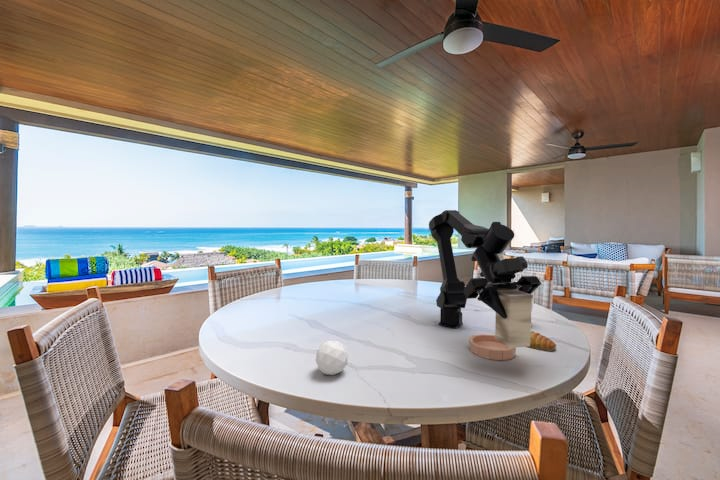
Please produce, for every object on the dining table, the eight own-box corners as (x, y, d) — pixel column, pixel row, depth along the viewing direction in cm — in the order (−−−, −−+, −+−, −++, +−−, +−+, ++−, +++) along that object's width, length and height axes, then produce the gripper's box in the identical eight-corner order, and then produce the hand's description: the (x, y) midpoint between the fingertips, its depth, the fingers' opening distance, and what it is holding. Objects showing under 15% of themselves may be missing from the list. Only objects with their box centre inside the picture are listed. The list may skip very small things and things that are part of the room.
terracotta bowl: (462, 351, 85) (462, 342, 85) (478, 339, 94) (478, 331, 94) (507, 364, 77) (507, 354, 77) (519, 349, 86) (520, 341, 86)
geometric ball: (323, 385, 73) (303, 357, 74) (344, 362, 79) (325, 337, 79) (338, 381, 68) (317, 351, 68) (360, 357, 74) (340, 330, 74)
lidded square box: (494, 338, 77) (495, 290, 76) (514, 337, 78) (516, 289, 77) (509, 348, 71) (510, 296, 71) (531, 346, 72) (532, 295, 72)
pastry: (559, 348, 87) (560, 335, 87) (550, 355, 83) (550, 341, 83) (525, 338, 95) (525, 326, 94) (515, 344, 91) (515, 331, 90)
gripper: (470, 246, 76) (496, 302, 65) (536, 244, 79) (571, 297, 69) (454, 272, 84) (475, 325, 74) (515, 270, 87) (543, 320, 77)
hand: (516, 317), depth 73 cm, fingers closed on lidded square box, 5 cm apart
